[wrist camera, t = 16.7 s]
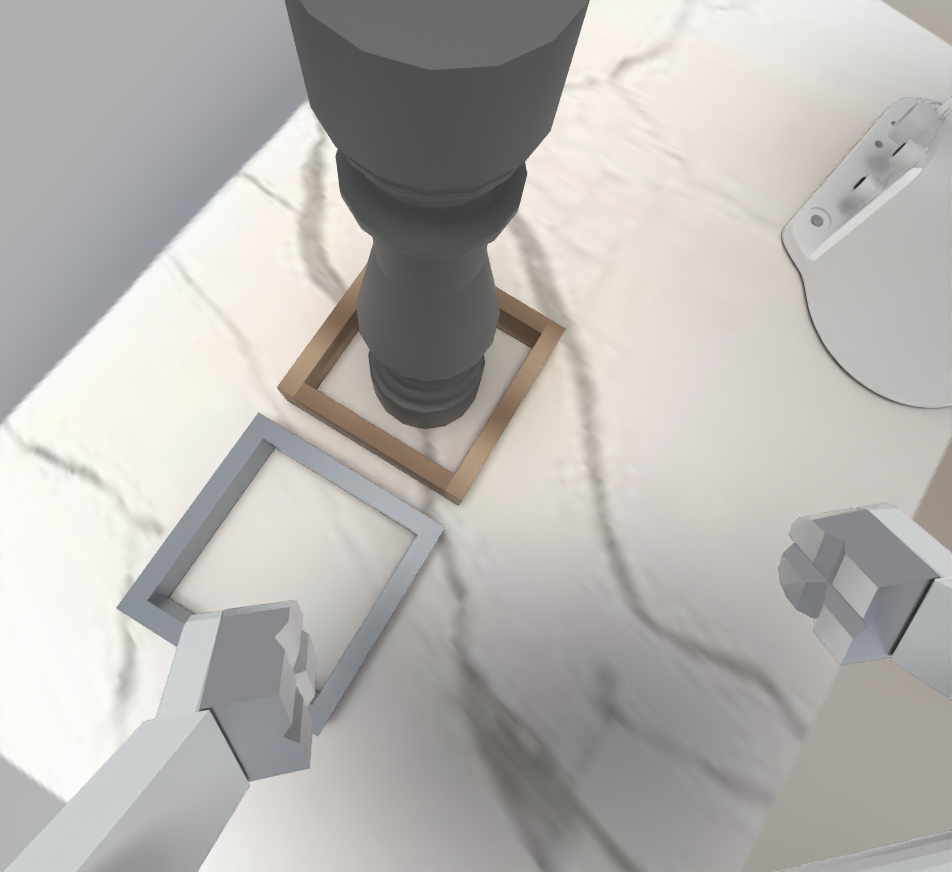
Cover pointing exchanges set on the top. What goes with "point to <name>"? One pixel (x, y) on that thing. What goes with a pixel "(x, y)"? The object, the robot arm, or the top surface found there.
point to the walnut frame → (452, 486)
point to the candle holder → (432, 167)
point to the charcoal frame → (214, 504)
